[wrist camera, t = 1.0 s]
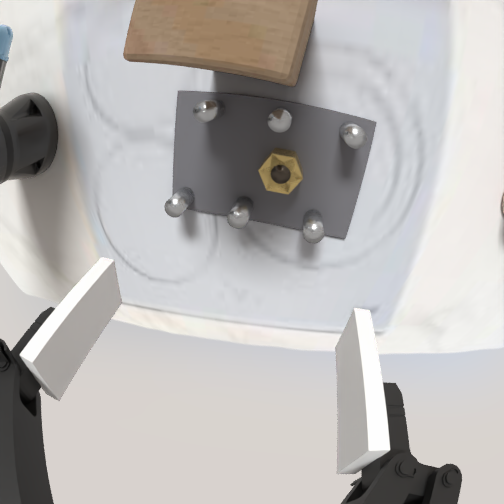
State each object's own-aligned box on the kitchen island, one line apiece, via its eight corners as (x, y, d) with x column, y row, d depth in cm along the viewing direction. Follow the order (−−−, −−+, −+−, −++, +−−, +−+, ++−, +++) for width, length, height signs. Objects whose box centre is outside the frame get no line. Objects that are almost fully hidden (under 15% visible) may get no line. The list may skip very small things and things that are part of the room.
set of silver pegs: (177, 202, 39) (164, 215, 36) (183, 97, 32) (168, 99, 28) (334, 230, 38) (337, 248, 34) (360, 124, 30) (369, 129, 27)
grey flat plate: (173, 205, 40) (172, 206, 40) (179, 90, 32) (177, 90, 31) (344, 237, 39) (345, 238, 38) (375, 121, 30) (376, 122, 30)
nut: (259, 179, 36) (255, 188, 33) (264, 145, 34) (260, 151, 31) (299, 186, 36) (299, 196, 33) (306, 153, 33) (306, 160, 30)
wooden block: (295, 87, 30) (289, 83, 13) (212, 70, 30) (118, 61, 13) (315, 14, 24) (329, -64, 8) (230, -2, 25) (158, -73, 8)
